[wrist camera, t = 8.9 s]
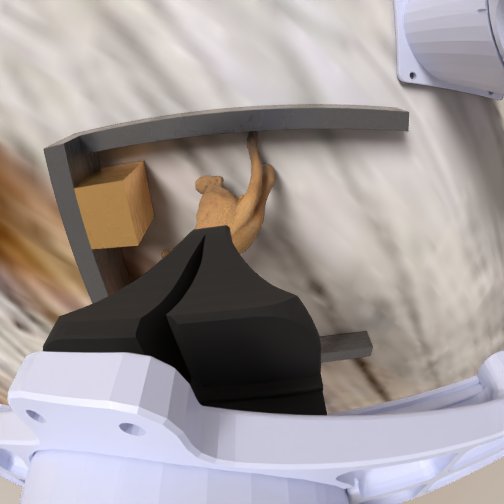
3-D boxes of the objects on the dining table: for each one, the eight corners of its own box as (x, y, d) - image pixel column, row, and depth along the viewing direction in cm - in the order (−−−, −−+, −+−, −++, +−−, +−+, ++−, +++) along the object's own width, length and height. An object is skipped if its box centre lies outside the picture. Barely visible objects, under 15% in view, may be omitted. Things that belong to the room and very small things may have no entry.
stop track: (395, 107, 18) (425, 117, 14) (364, 340, 28) (376, 372, 25) (74, 133, 18) (43, 148, 15) (141, 353, 29) (132, 385, 25)
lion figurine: (211, 312, 26) (201, 405, 18) (148, 291, 25) (118, 381, 17) (290, 141, 19) (322, 192, 12) (209, 109, 18) (182, 137, 10)
